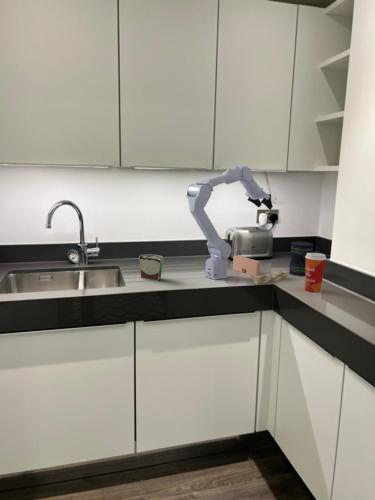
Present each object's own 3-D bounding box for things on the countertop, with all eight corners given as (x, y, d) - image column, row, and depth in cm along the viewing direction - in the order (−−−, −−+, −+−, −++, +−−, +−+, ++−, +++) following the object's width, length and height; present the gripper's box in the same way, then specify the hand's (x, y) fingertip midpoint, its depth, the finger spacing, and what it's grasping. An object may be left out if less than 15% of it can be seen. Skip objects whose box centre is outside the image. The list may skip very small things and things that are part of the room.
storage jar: (308, 277, 174) (311, 245, 171) (287, 274, 178) (289, 243, 175) (311, 272, 183) (314, 242, 180) (290, 270, 187) (293, 240, 184)
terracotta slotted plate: (259, 276, 173) (260, 261, 172) (256, 276, 172) (257, 262, 171) (235, 269, 186) (236, 255, 184) (232, 269, 185) (233, 255, 183)
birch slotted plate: (256, 284, 160) (256, 277, 159) (253, 283, 161) (253, 276, 161) (287, 278, 171) (288, 271, 170) (284, 277, 172) (284, 271, 172)
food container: (169, 278, 164) (169, 256, 162) (161, 281, 159) (161, 258, 157) (146, 274, 170) (146, 253, 169) (138, 277, 165) (138, 255, 163)
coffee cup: (299, 287, 157) (302, 252, 154) (318, 287, 157) (321, 252, 155) (306, 293, 149) (310, 256, 146) (326, 293, 149) (330, 256, 146)
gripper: (267, 182, 168) (281, 202, 175) (246, 179, 180) (260, 199, 187) (258, 193, 166) (272, 213, 174) (237, 190, 178) (251, 209, 186)
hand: (265, 207), depth 180 cm, fingers open, 7 cm apart
